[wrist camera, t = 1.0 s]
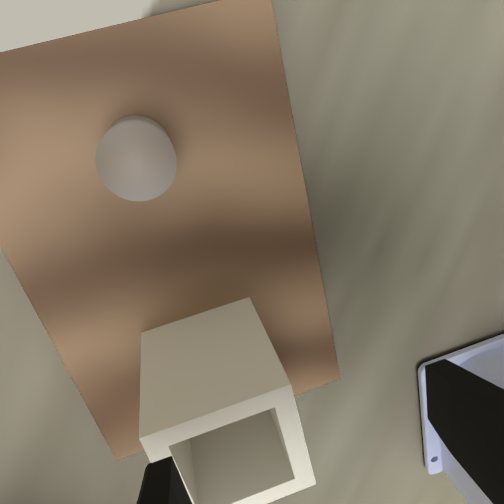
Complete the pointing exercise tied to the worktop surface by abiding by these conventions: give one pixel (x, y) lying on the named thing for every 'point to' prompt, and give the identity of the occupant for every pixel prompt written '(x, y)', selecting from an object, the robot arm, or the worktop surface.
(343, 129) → the worktop surface
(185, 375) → the hollow square socket
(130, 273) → the brown rectangular board
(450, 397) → the robot arm
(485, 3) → the worktop surface
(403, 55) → the worktop surface
